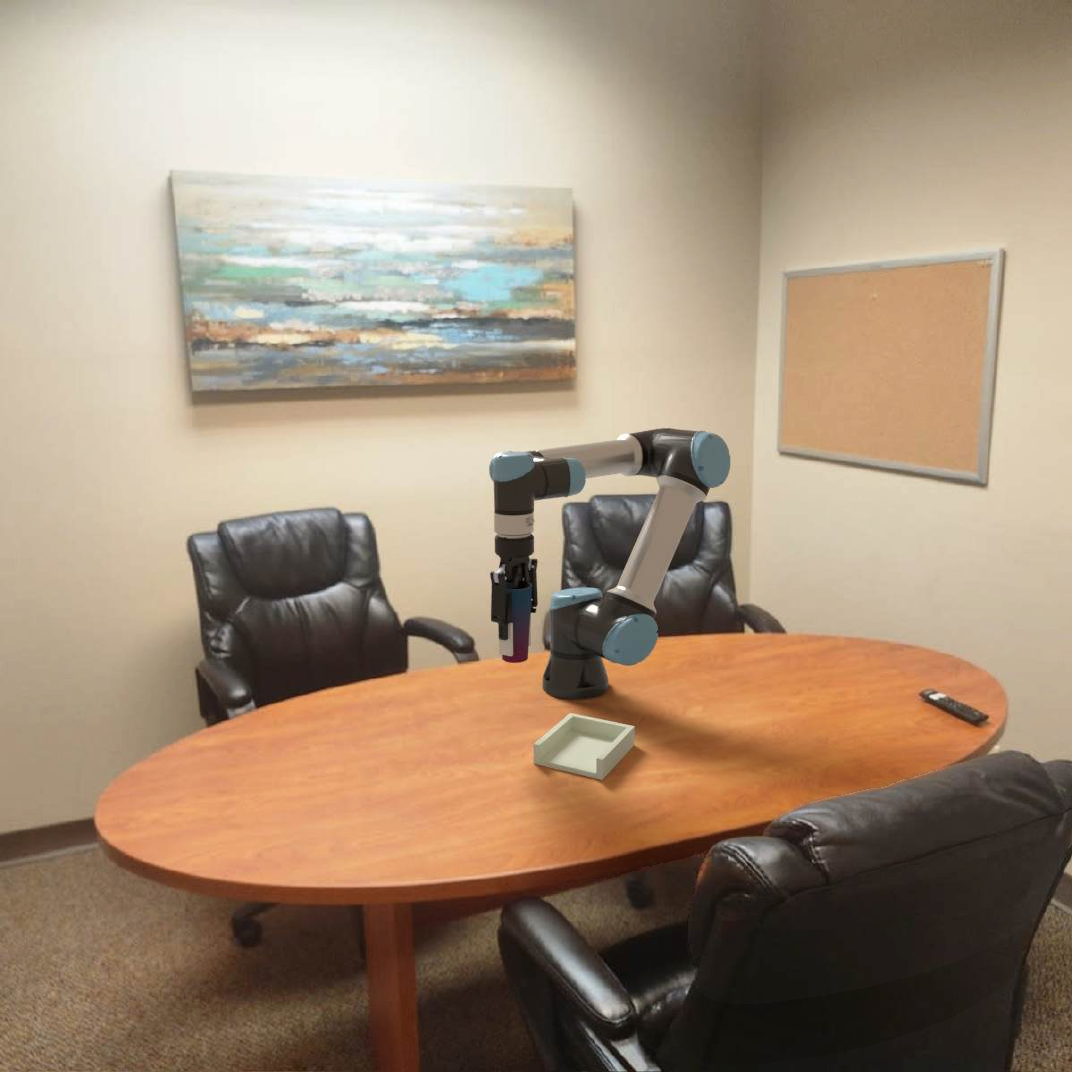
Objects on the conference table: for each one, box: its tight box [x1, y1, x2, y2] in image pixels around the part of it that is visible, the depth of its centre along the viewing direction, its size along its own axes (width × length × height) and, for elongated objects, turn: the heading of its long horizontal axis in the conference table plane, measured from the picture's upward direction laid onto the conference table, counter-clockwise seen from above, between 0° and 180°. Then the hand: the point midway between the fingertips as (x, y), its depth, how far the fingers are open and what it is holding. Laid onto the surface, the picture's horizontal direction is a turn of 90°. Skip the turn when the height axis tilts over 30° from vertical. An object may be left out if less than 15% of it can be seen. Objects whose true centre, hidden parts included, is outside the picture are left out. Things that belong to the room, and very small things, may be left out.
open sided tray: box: [533, 712, 636, 781], centre depth 170 cm, size 14×16×4 cm
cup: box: [501, 582, 532, 664], centre depth 172 cm, size 7×7×15 cm
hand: (515, 649), depth 173 cm, fingers closed on cup, 6 cm apart
